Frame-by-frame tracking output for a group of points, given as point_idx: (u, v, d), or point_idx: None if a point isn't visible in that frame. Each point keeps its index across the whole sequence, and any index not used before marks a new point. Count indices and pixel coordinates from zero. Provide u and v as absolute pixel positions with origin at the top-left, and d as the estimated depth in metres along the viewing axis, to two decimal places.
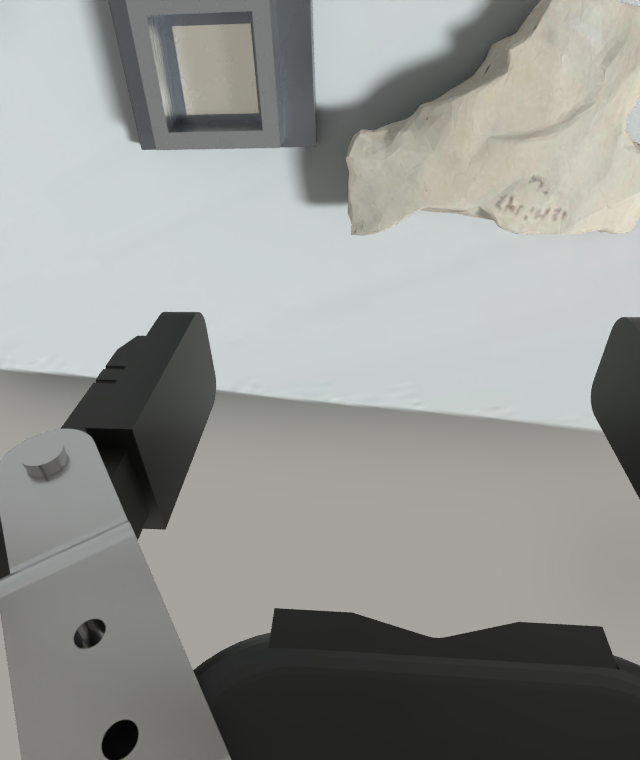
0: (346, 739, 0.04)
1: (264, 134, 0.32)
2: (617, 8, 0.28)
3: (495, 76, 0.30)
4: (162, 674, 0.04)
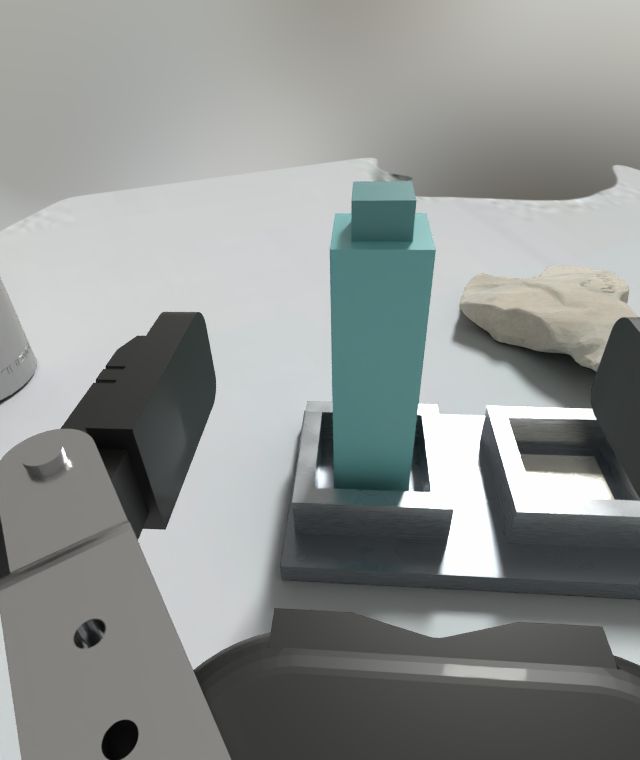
0: (346, 739, 0.04)
1: None
2: (468, 291, 0.47)
3: (522, 312, 0.41)
4: (162, 674, 0.04)
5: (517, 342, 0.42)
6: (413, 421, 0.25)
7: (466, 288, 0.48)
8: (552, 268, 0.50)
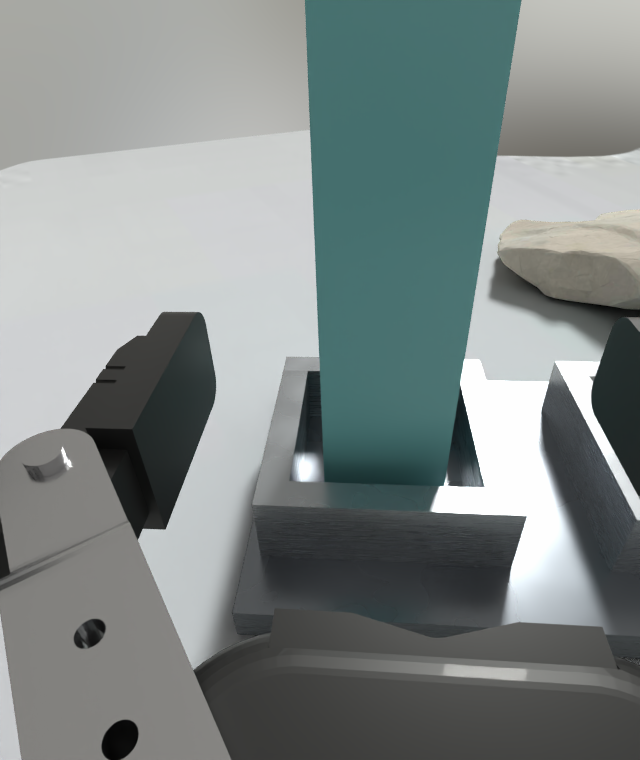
0: (346, 739, 0.04)
1: None
2: (505, 238, 0.37)
3: (586, 255, 0.31)
4: (162, 674, 0.04)
5: (578, 297, 0.32)
6: (458, 363, 0.14)
7: (502, 236, 0.37)
8: (608, 214, 0.40)
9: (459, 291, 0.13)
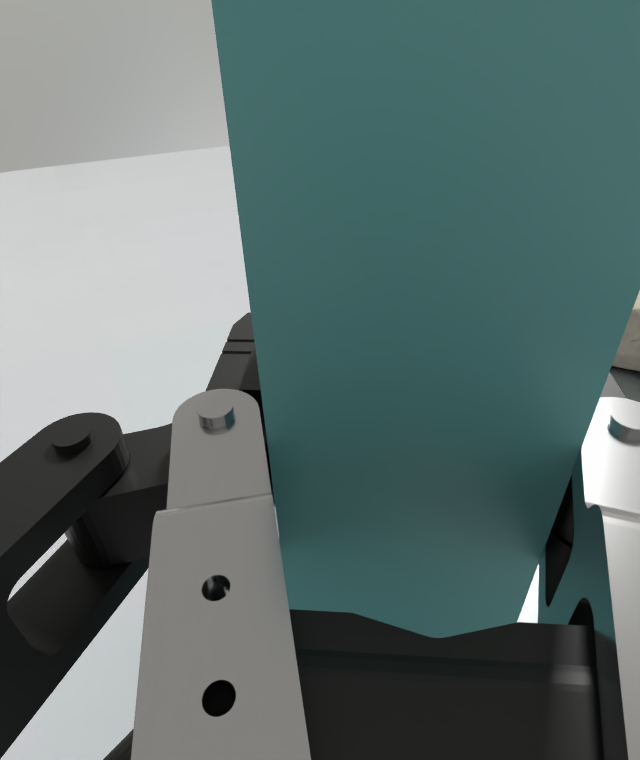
0: (346, 739, 0.04)
1: None
2: None
3: None
4: (268, 652, 0.04)
5: (636, 365, 0.26)
6: (514, 604, 0.09)
7: None
8: None
9: (526, 518, 0.07)
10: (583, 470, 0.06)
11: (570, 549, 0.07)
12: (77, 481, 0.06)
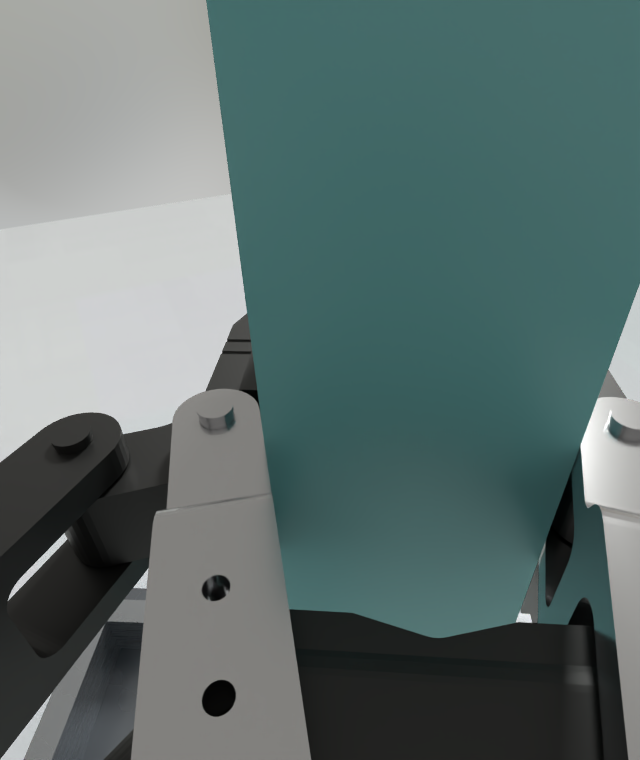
0: (346, 739, 0.04)
1: None
2: None
3: None
4: (268, 652, 0.04)
5: None
6: (512, 606, 0.09)
7: None
8: None
9: (524, 520, 0.07)
10: (584, 470, 0.06)
11: (570, 549, 0.07)
12: (77, 481, 0.06)
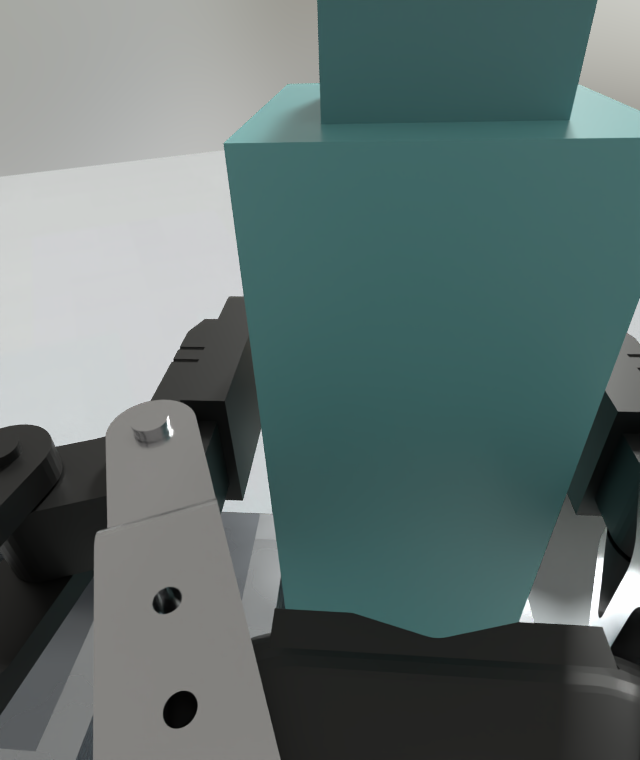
0: (346, 739, 0.04)
1: None
2: None
3: None
4: (226, 655, 0.04)
5: None
6: None
7: None
8: None
9: (507, 582, 0.08)
10: None
11: None
12: None
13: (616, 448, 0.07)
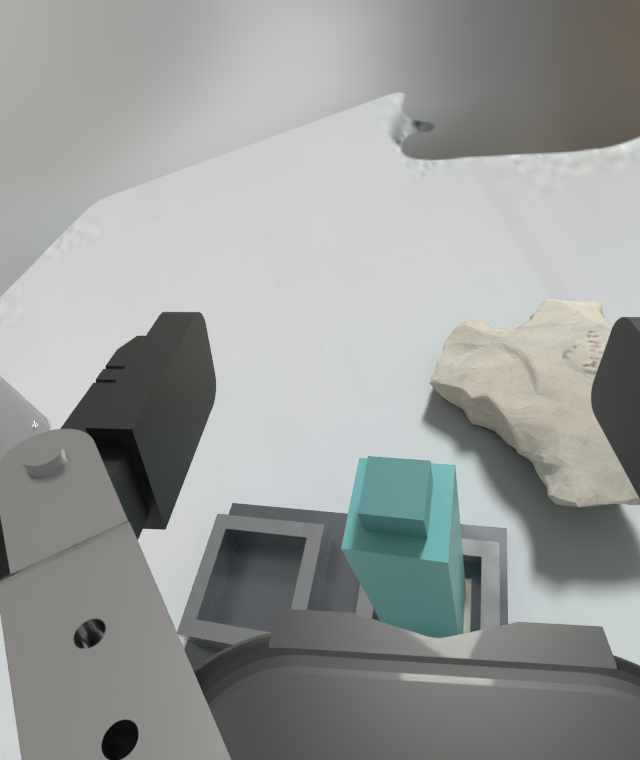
0: (346, 739, 0.04)
1: (485, 555, 0.31)
2: (445, 353, 0.43)
3: (490, 402, 0.38)
4: (162, 674, 0.04)
5: (490, 427, 0.39)
6: (454, 627, 0.25)
7: (444, 348, 0.44)
8: (548, 304, 0.44)
9: (446, 612, 0.23)
10: None
11: None
12: None
13: None
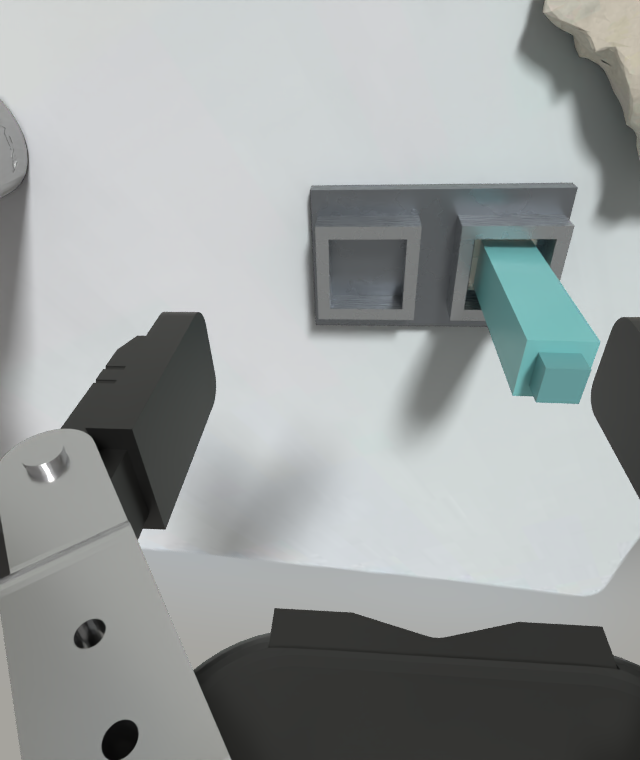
0: (346, 739, 0.04)
1: (560, 237, 0.38)
2: None
3: (616, 58, 0.32)
4: (162, 674, 0.04)
5: None
6: None
7: None
8: None
9: None
10: None
11: None
12: None
13: None
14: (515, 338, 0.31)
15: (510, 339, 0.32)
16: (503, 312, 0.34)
